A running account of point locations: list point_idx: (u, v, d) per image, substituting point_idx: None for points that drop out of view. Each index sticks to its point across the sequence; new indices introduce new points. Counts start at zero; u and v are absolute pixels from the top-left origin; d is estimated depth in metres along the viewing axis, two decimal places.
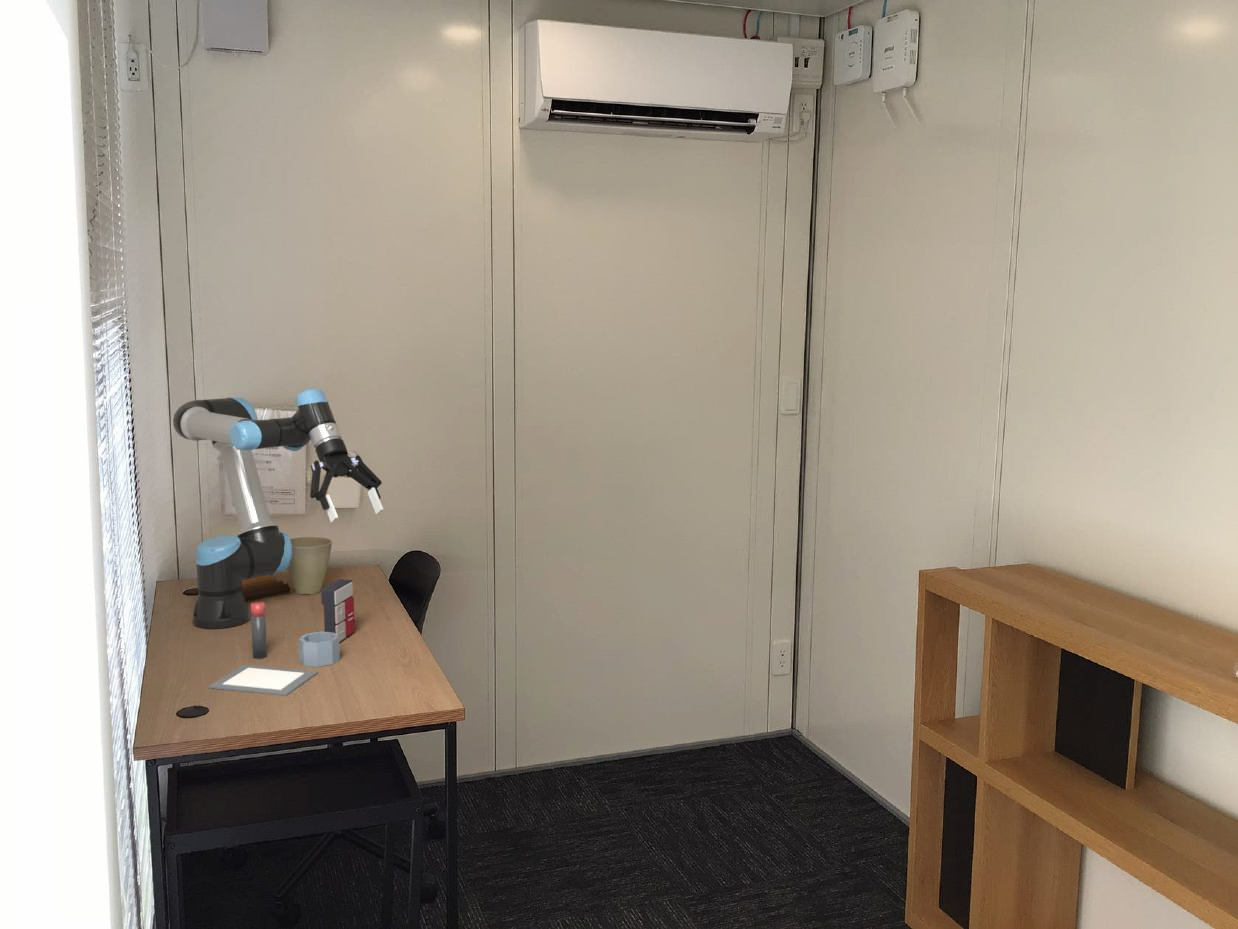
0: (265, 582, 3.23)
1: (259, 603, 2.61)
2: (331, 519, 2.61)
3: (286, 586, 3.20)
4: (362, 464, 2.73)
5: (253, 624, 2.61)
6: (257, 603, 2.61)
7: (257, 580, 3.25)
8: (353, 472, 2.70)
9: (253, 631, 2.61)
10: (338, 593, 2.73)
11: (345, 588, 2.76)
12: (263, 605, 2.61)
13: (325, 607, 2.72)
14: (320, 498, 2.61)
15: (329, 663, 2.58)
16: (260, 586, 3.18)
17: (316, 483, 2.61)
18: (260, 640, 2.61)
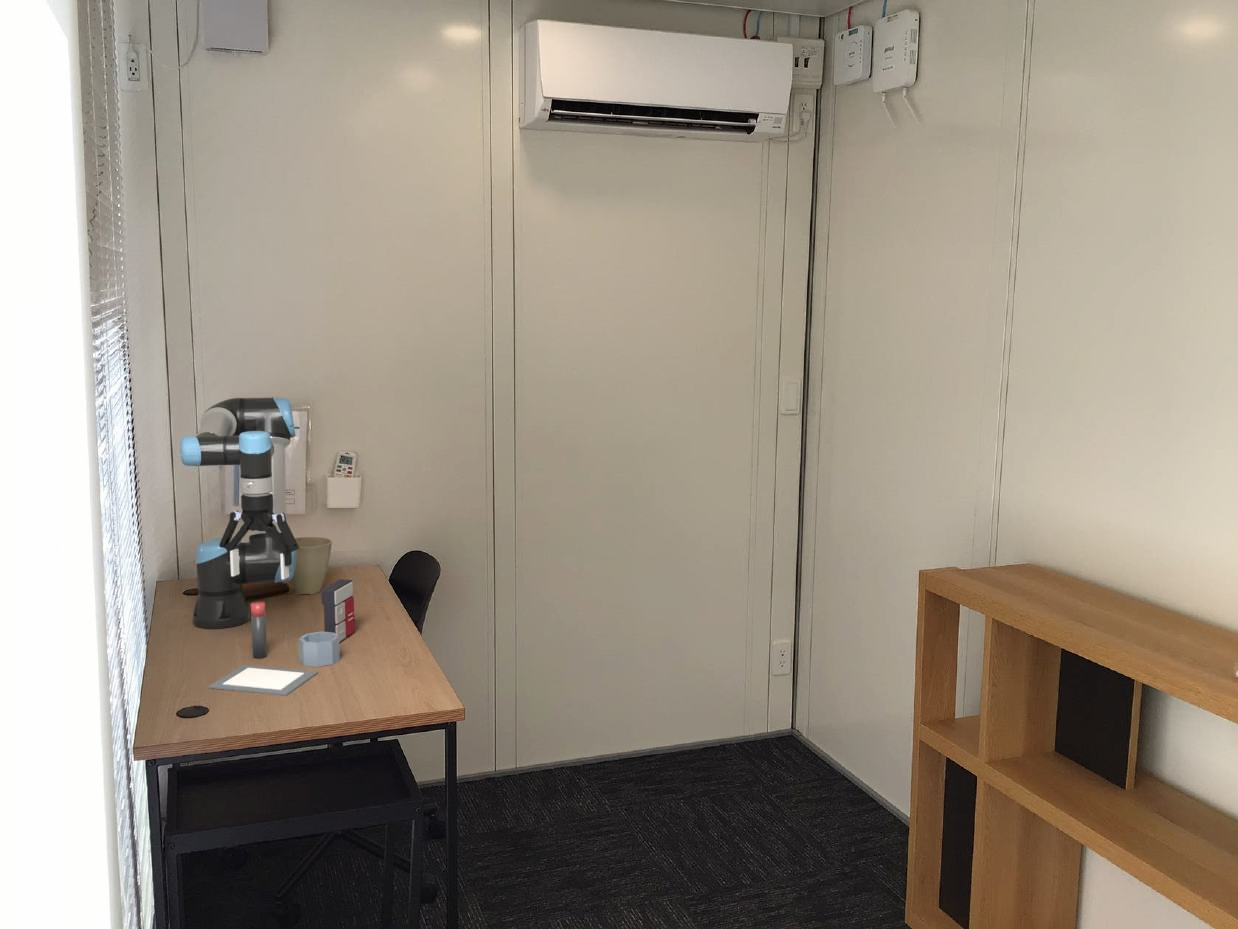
0: None
1: (259, 603, 2.61)
2: None
3: (286, 586, 3.20)
4: (280, 526, 2.56)
5: (253, 624, 2.61)
6: (257, 603, 2.61)
7: None
8: None
9: (253, 631, 2.61)
10: (338, 593, 2.73)
11: (345, 588, 2.76)
12: (263, 605, 2.61)
13: (325, 607, 2.72)
14: None
15: (329, 663, 2.58)
16: (260, 586, 3.18)
17: (224, 536, 2.59)
18: (260, 640, 2.61)
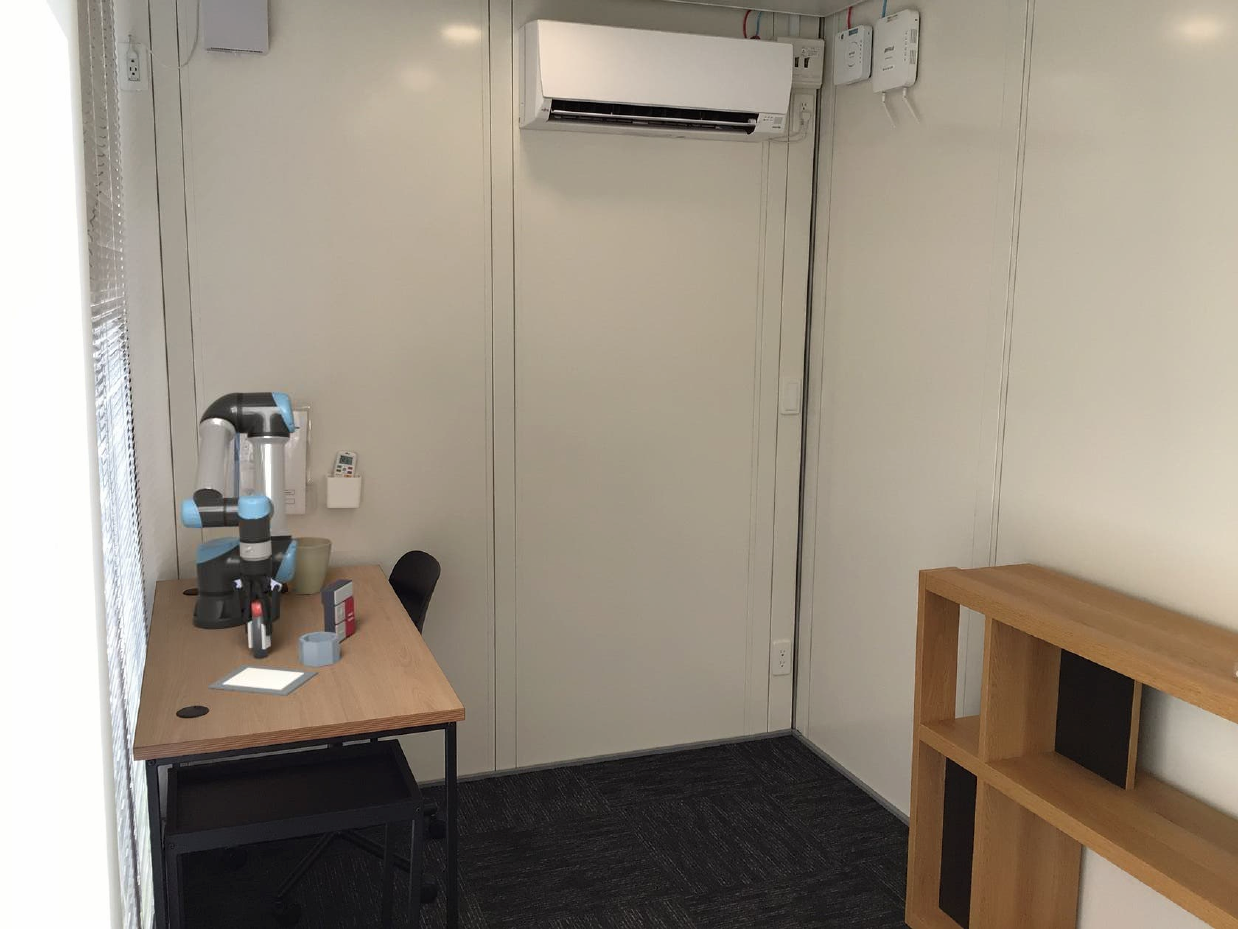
0: None
1: (260, 603, 2.61)
2: None
3: (285, 586, 3.20)
4: (273, 595, 2.59)
5: (254, 624, 2.61)
6: (258, 603, 2.61)
7: None
8: None
9: (254, 631, 2.61)
10: (338, 593, 2.73)
11: (345, 588, 2.76)
12: None
13: (325, 607, 2.72)
14: None
15: (329, 663, 2.58)
16: None
17: (237, 608, 2.61)
18: (261, 640, 2.61)
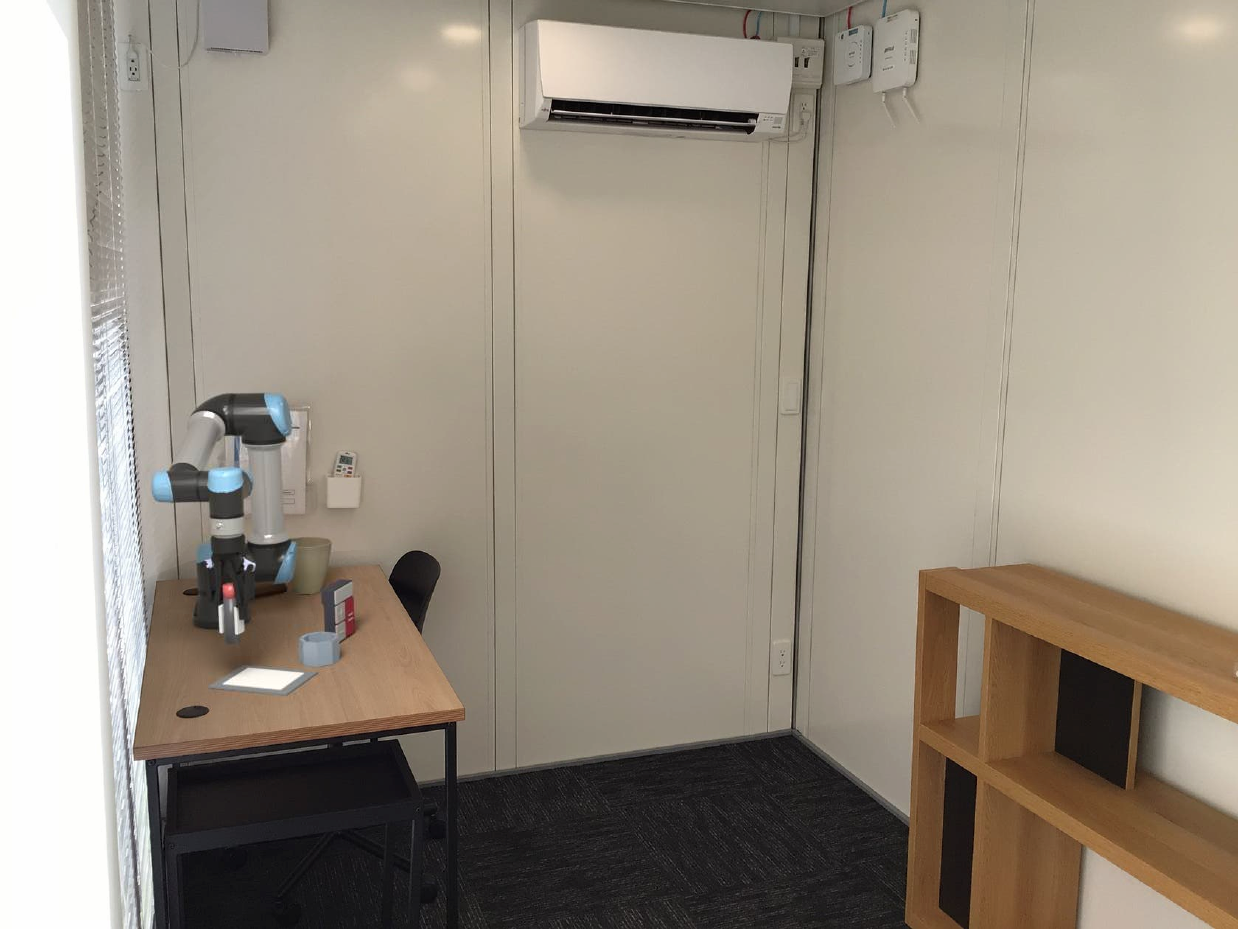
0: None
1: (232, 584, 2.41)
2: None
3: (283, 586, 3.20)
4: (246, 575, 2.39)
5: (225, 607, 2.41)
6: (229, 584, 2.41)
7: None
8: None
9: (225, 614, 2.41)
10: (338, 593, 2.73)
11: (345, 588, 2.76)
12: None
13: (325, 607, 2.72)
14: None
15: (329, 663, 2.58)
16: (257, 586, 3.18)
17: (207, 589, 2.41)
18: (233, 625, 2.41)
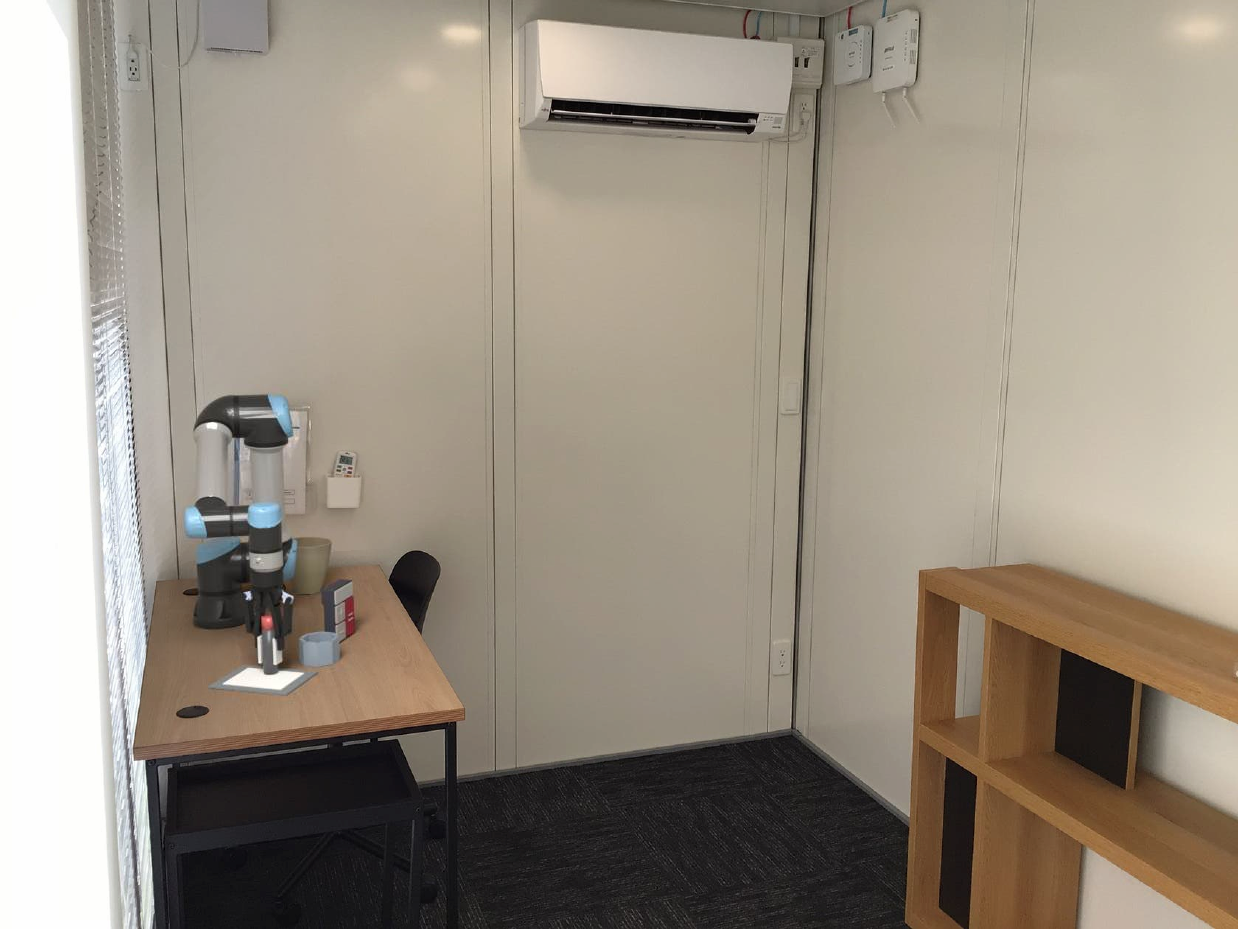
0: None
1: (270, 616, 2.48)
2: None
3: None
4: (285, 608, 2.46)
5: (264, 638, 2.48)
6: (268, 616, 2.48)
7: None
8: None
9: (264, 645, 2.48)
10: (338, 593, 2.73)
11: (345, 588, 2.76)
12: None
13: (325, 607, 2.72)
14: None
15: (329, 663, 2.58)
16: None
17: (246, 621, 2.48)
18: (271, 655, 2.48)
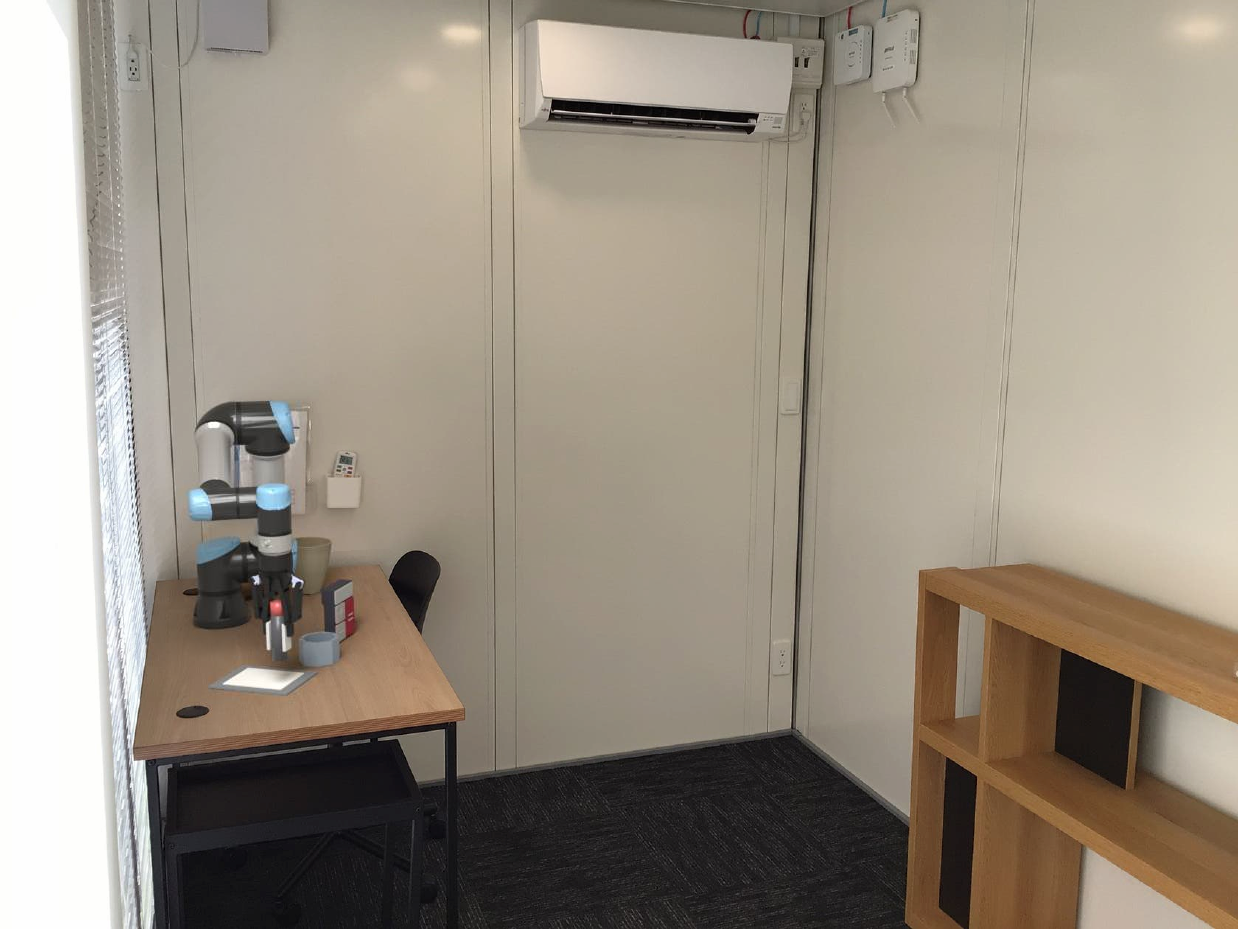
0: None
1: (279, 601, 2.40)
2: None
3: None
4: (294, 593, 2.37)
5: (272, 624, 2.39)
6: (277, 601, 2.40)
7: None
8: None
9: (272, 632, 2.40)
10: (338, 593, 2.73)
11: (345, 588, 2.76)
12: None
13: (325, 607, 2.72)
14: None
15: (329, 663, 2.58)
16: None
17: (254, 606, 2.40)
18: (280, 642, 2.40)
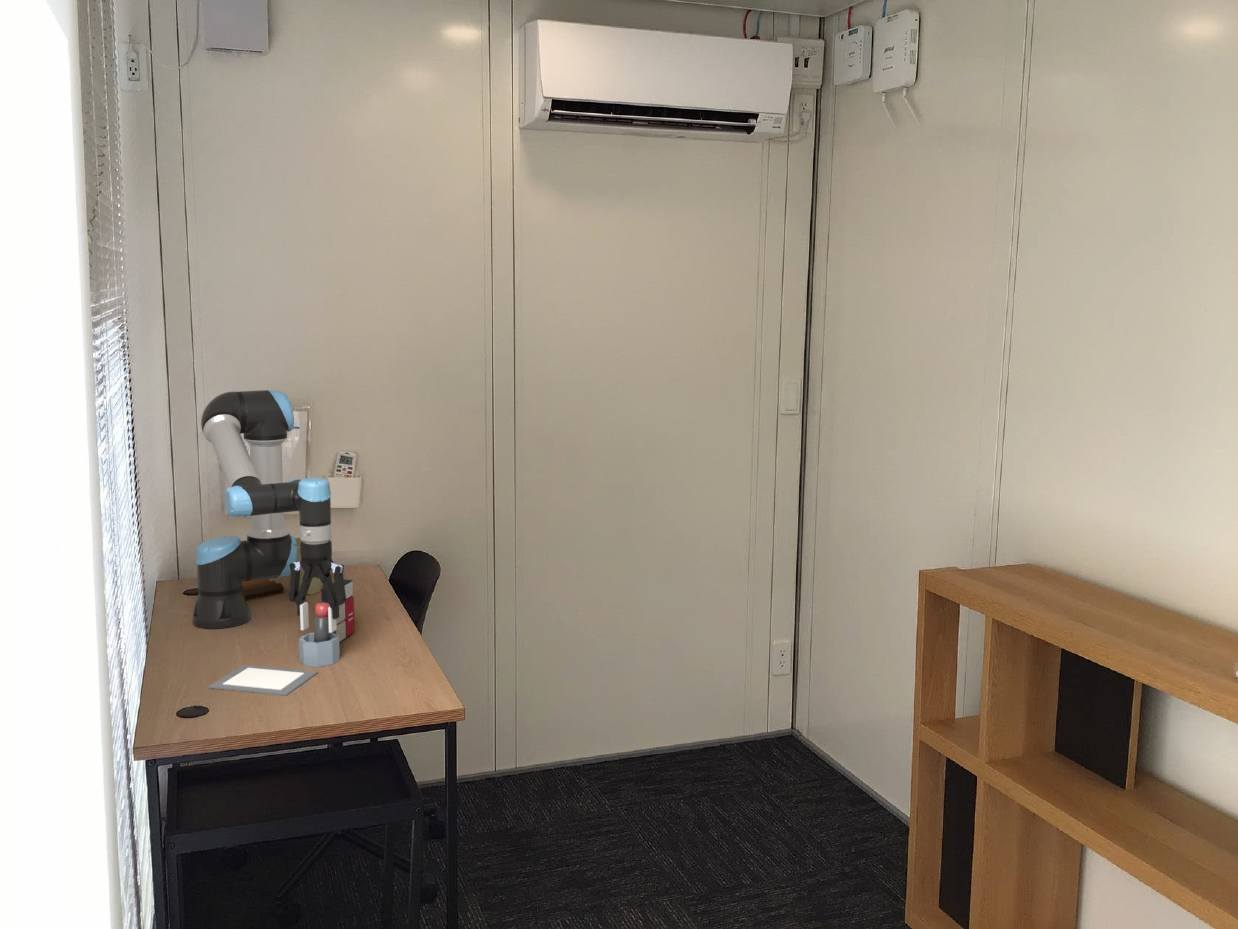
0: (258, 582, 3.23)
1: (324, 604, 2.59)
2: None
3: (280, 586, 3.20)
4: (335, 577, 2.56)
5: (316, 625, 2.58)
6: (322, 604, 2.59)
7: None
8: None
9: (316, 632, 2.59)
10: None
11: (345, 588, 2.76)
12: None
13: None
14: None
15: (329, 663, 2.58)
16: (253, 586, 3.18)
17: (291, 589, 2.59)
18: None
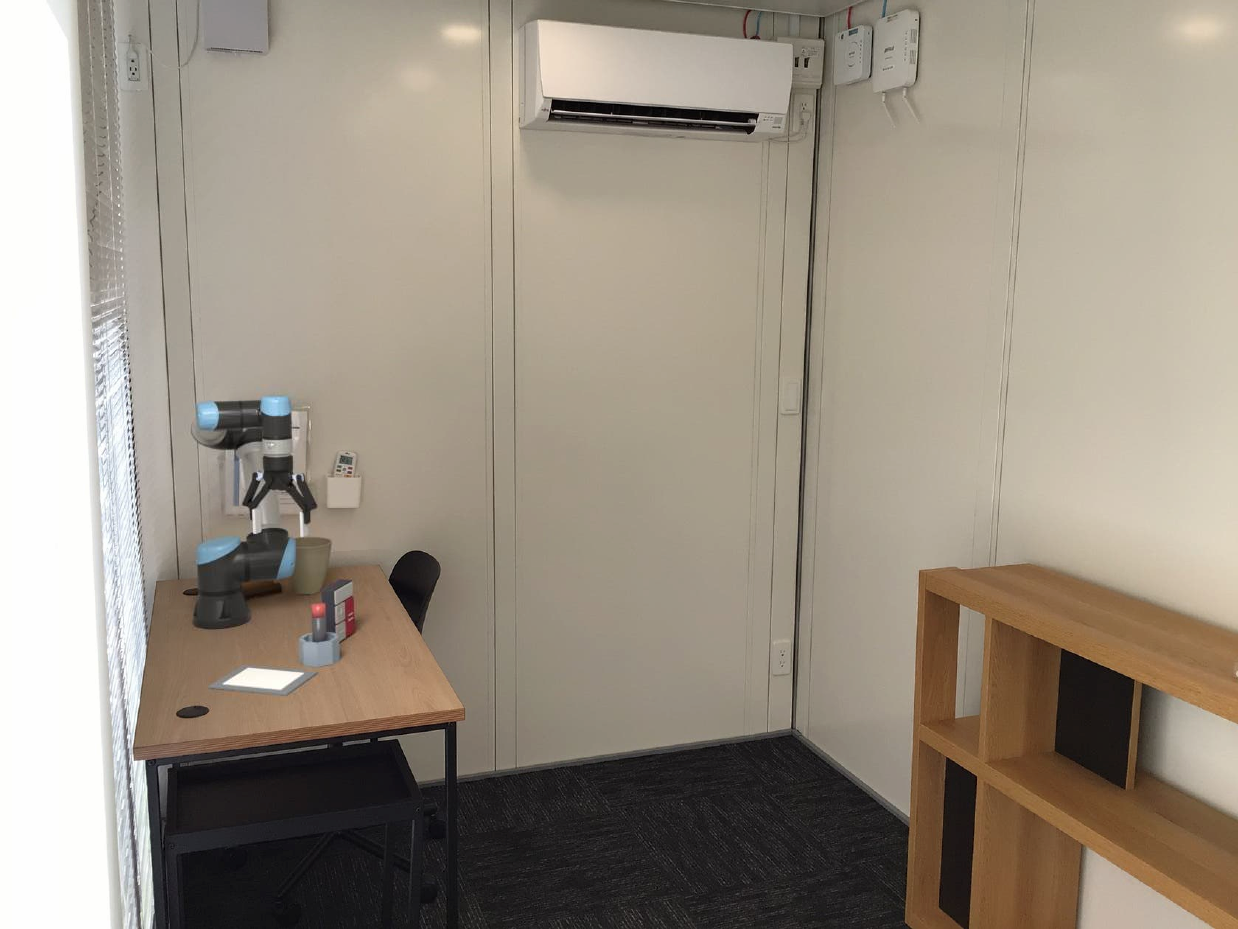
0: (256, 582, 3.23)
1: (320, 604, 2.59)
2: None
3: (278, 585, 3.20)
4: (299, 485, 2.68)
5: (314, 625, 2.58)
6: (318, 604, 2.59)
7: None
8: None
9: (314, 632, 2.59)
10: (338, 593, 2.73)
11: (345, 588, 2.76)
12: (324, 606, 2.59)
13: None
14: None
15: (329, 663, 2.58)
16: (252, 586, 3.18)
17: (246, 495, 2.72)
18: None
